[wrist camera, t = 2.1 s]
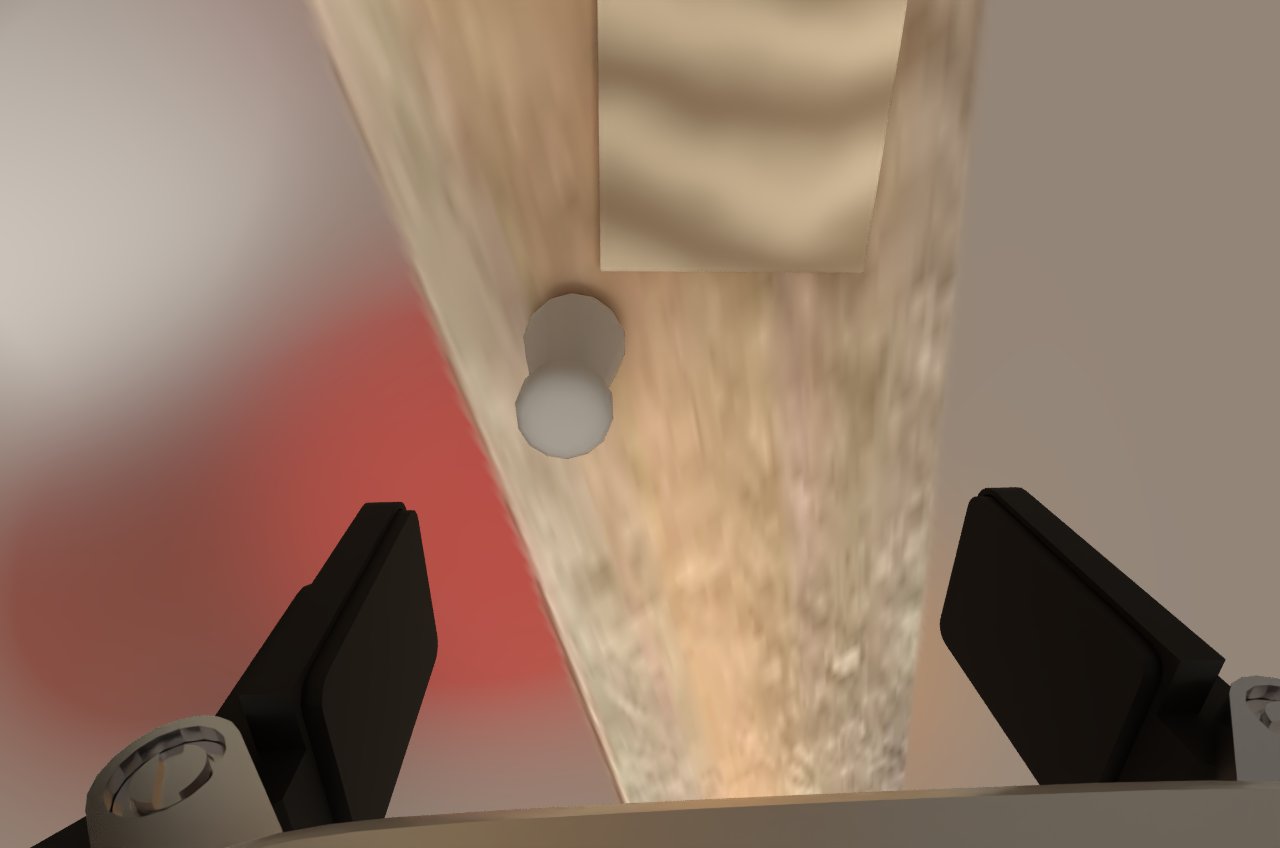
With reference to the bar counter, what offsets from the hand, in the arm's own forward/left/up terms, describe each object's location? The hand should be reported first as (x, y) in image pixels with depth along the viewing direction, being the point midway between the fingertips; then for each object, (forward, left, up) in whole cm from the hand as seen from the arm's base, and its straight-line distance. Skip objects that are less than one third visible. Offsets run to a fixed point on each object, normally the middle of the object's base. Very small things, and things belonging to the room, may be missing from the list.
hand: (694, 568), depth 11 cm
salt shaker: (+5, -3, -29) cm, 30 cm away
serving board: (-8, +6, -29) cm, 31 cm away
